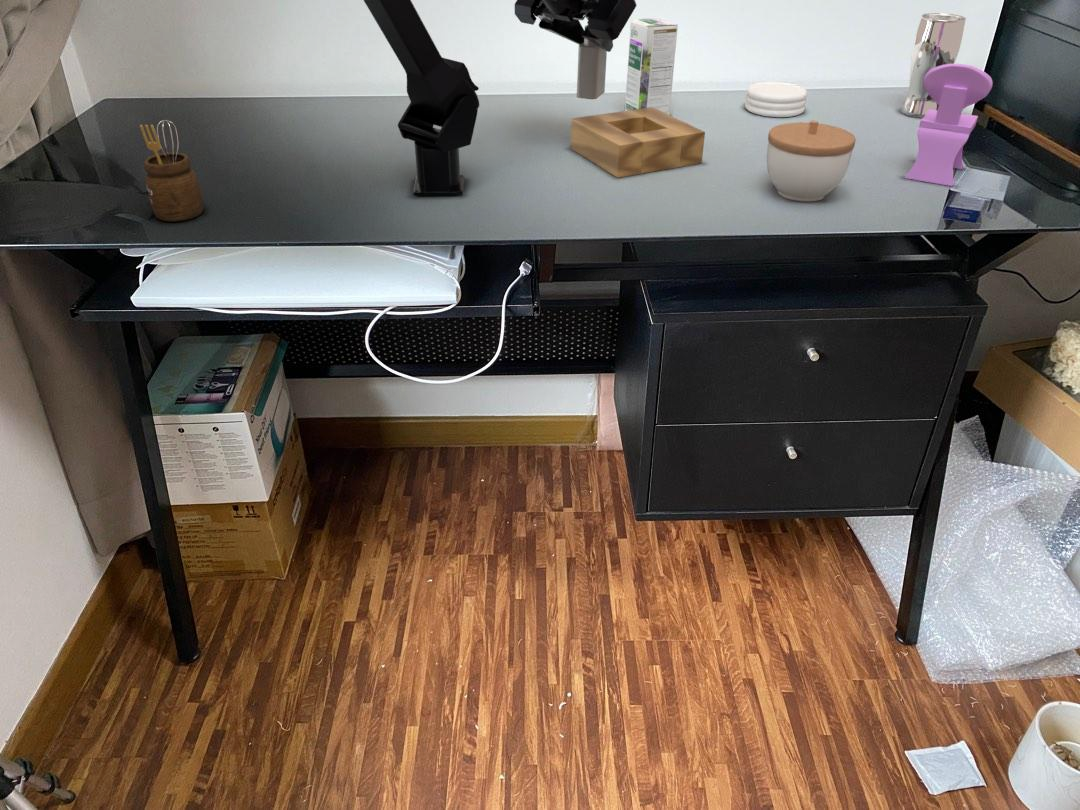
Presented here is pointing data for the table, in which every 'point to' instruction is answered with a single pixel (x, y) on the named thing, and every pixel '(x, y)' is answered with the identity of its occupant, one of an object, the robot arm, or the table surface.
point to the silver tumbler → (931, 57)
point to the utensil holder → (171, 182)
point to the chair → (947, 121)
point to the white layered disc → (775, 99)
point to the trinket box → (808, 159)
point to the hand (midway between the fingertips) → (598, 46)
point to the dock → (636, 141)
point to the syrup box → (650, 64)
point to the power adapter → (591, 70)
